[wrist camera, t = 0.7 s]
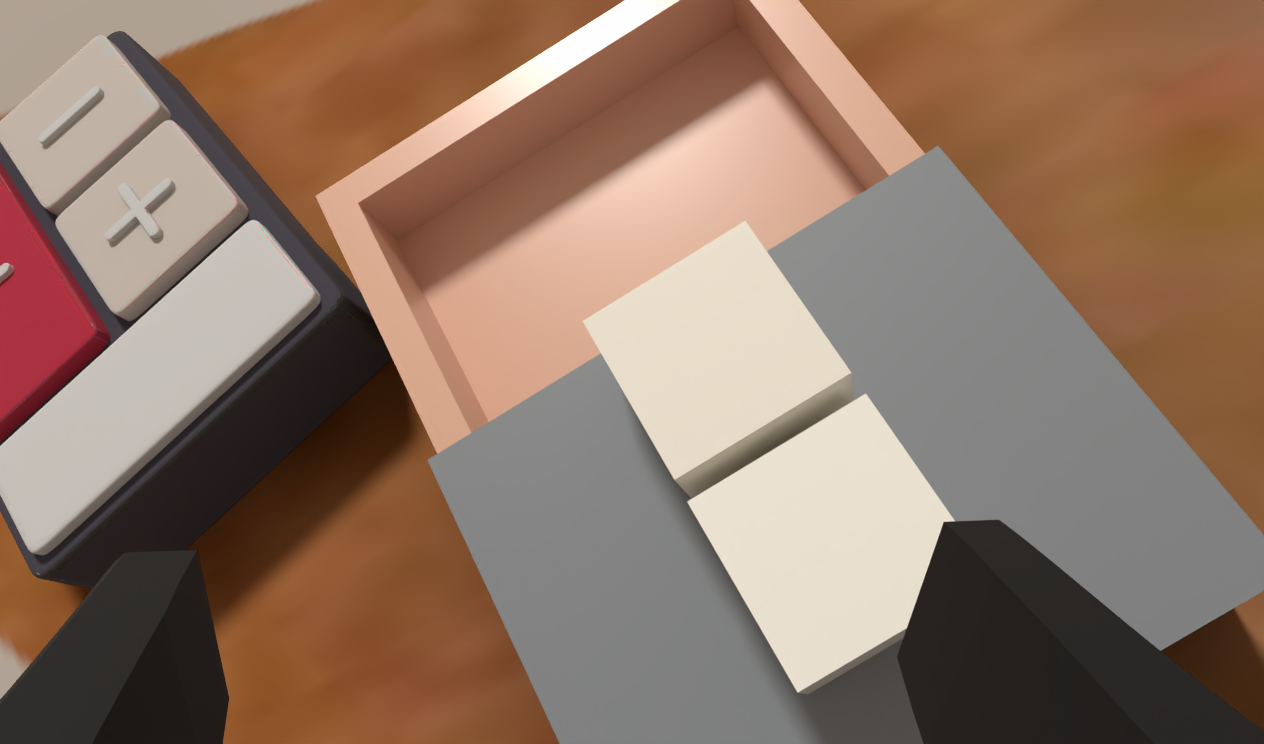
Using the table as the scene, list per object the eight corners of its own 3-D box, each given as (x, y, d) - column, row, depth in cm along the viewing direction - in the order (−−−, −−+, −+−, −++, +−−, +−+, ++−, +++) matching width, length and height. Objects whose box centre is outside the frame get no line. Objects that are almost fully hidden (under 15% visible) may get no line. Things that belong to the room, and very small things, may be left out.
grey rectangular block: (1227, 595, 22) (1295, 572, 18) (692, 907, 23) (654, 946, 19) (931, 224, 27) (938, 146, 23) (489, 493, 27) (427, 460, 23)
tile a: (981, 591, 20) (993, 576, 17) (807, 694, 20) (797, 692, 17) (868, 427, 21) (865, 393, 19) (708, 523, 21) (687, 501, 19)
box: (929, 221, 27) (933, 164, 24) (488, 490, 27) (443, 466, 24) (752, -1, 30) (739, -72, 27) (367, 242, 31) (315, 196, 28)
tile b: (855, 409, 21) (851, 372, 19) (697, 504, 22) (674, 479, 19) (759, 269, 23) (745, 220, 21) (612, 359, 23) (582, 321, 21)
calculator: (101, 8, 32) (331, 286, 26) (189, 88, 36) (409, 348, 29) (-158, 237, 32) (9, 581, 25) (-40, 293, 35) (132, 604, 29)
